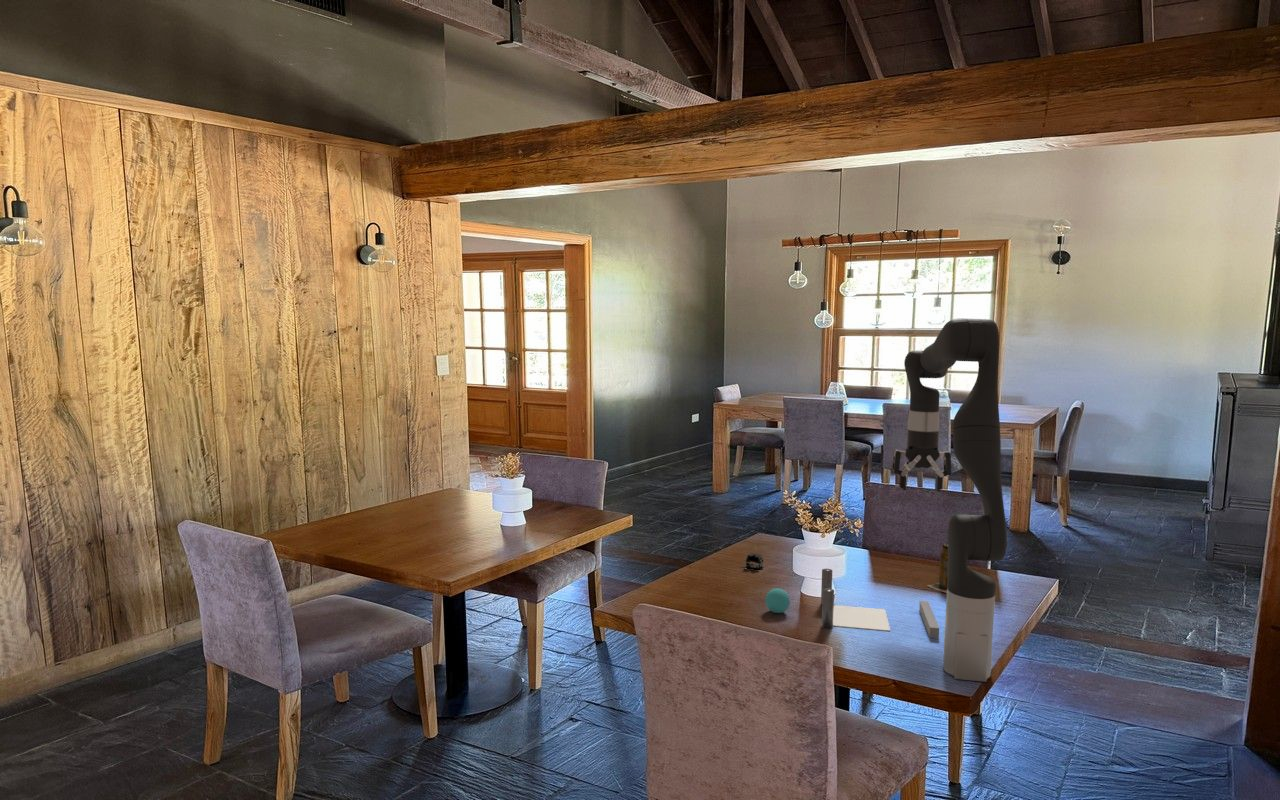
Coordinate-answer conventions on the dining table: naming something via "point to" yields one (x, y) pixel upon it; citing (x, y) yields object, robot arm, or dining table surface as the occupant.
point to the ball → (777, 600)
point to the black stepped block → (754, 558)
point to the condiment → (942, 570)
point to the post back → (826, 581)
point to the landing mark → (860, 618)
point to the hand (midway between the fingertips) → (920, 490)
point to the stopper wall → (929, 619)
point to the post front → (827, 608)
